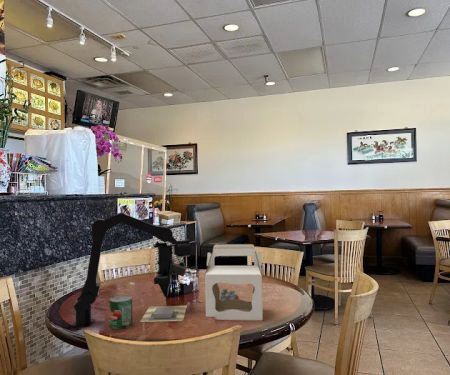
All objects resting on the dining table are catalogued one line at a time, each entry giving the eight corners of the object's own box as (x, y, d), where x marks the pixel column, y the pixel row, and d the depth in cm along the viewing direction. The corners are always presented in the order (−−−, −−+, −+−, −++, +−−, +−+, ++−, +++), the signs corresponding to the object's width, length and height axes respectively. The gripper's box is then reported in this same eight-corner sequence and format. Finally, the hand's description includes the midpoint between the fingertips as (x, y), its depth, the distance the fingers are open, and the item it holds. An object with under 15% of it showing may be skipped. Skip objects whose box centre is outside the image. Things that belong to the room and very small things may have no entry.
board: (182, 323, 131) (182, 320, 131) (139, 325, 130) (139, 321, 130) (187, 308, 149) (187, 305, 149) (149, 309, 148) (149, 306, 148)
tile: (174, 311, 141) (171, 318, 133) (156, 311, 141) (153, 318, 133) (174, 307, 141) (171, 313, 133) (156, 307, 141) (153, 314, 133)
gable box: (205, 319, 135) (203, 246, 135) (210, 308, 148) (208, 242, 149) (263, 320, 132) (261, 246, 133) (263, 309, 146) (261, 242, 146)
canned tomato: (136, 325, 130) (136, 295, 130) (125, 333, 122) (125, 301, 123) (117, 323, 132) (117, 294, 132) (105, 331, 124) (105, 300, 125)
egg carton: (222, 295, 168) (222, 287, 168) (238, 296, 167) (237, 287, 167) (218, 302, 157) (218, 293, 158) (234, 302, 156) (234, 293, 156)
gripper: (182, 261, 133) (183, 302, 133) (187, 253, 152) (188, 289, 152) (153, 262, 133) (154, 303, 133) (161, 254, 152) (162, 290, 151)
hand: (166, 296), depth 142 cm, fingers closed
